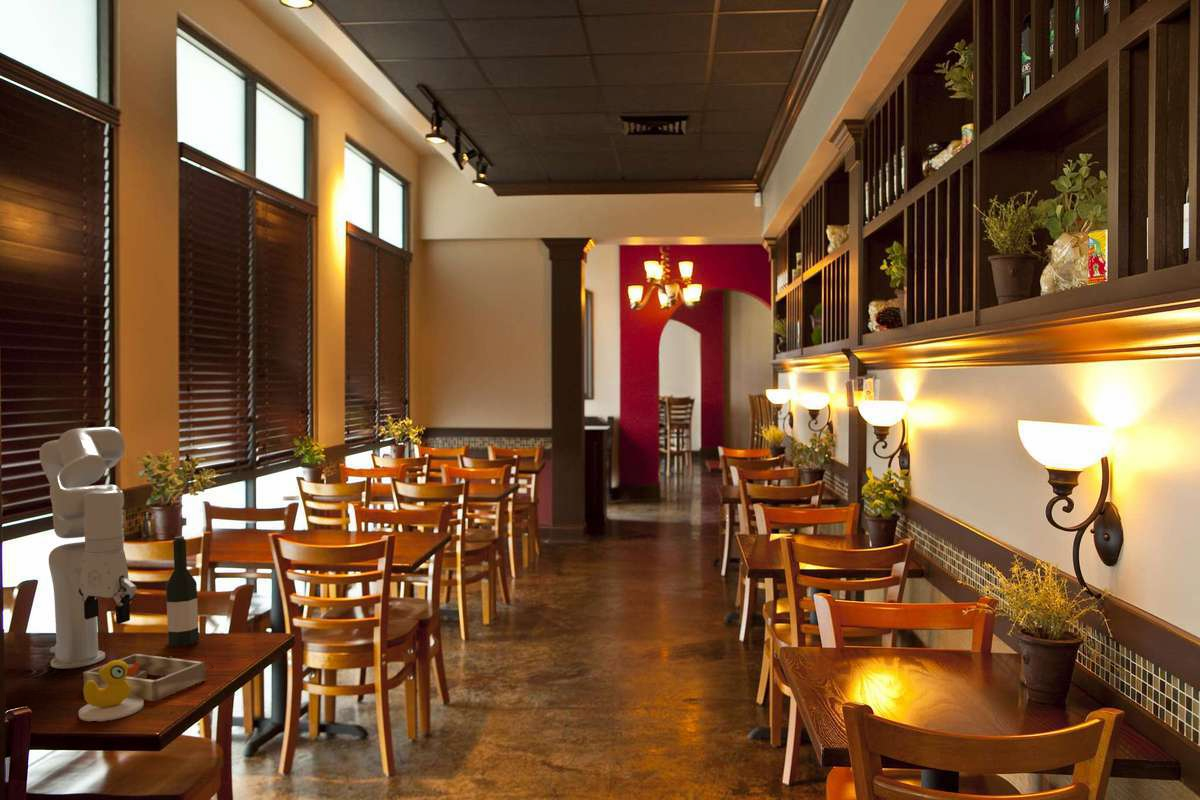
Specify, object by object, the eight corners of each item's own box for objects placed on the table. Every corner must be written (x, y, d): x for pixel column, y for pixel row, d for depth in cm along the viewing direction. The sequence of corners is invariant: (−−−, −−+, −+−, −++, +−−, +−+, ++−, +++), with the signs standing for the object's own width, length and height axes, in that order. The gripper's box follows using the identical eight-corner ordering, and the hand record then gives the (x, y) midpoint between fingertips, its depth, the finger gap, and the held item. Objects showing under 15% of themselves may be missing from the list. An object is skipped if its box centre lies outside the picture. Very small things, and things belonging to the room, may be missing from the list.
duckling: (139, 696, 213) (137, 653, 213) (142, 702, 209) (140, 659, 208) (83, 707, 207) (81, 663, 207) (85, 714, 202) (83, 669, 202)
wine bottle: (174, 639, 263) (169, 535, 262) (204, 637, 264) (199, 533, 263) (162, 647, 255) (158, 540, 254) (193, 646, 256) (189, 539, 255)
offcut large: (102, 690, 223) (101, 681, 223) (131, 678, 231) (130, 669, 231) (118, 692, 221) (118, 683, 221) (147, 679, 230) (146, 671, 230)
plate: (65, 717, 204) (64, 712, 204) (115, 697, 216) (115, 692, 216) (107, 724, 199) (107, 719, 199) (156, 703, 211) (156, 698, 211)
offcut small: (109, 680, 223) (109, 672, 223) (125, 672, 229) (124, 664, 229) (124, 680, 223) (124, 672, 223) (139, 672, 229) (139, 664, 229)
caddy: (84, 690, 221) (83, 672, 221) (136, 671, 235) (135, 653, 235) (155, 701, 213) (154, 682, 212) (205, 680, 227) (204, 662, 226)
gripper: (61, 545, 206) (64, 620, 207) (118, 551, 200) (121, 628, 201) (91, 538, 213) (94, 611, 214) (146, 544, 206) (149, 619, 207)
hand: (107, 619), depth 207 cm, fingers open, 9 cm apart
